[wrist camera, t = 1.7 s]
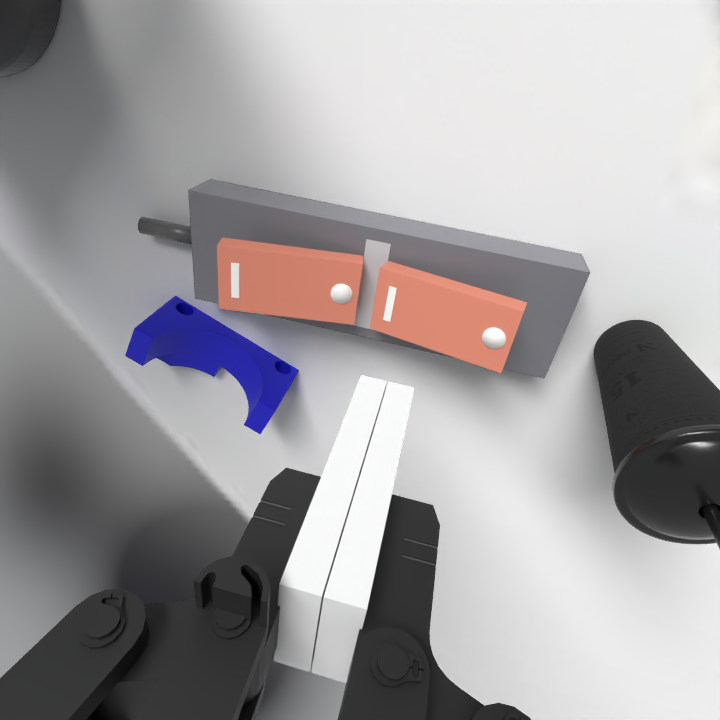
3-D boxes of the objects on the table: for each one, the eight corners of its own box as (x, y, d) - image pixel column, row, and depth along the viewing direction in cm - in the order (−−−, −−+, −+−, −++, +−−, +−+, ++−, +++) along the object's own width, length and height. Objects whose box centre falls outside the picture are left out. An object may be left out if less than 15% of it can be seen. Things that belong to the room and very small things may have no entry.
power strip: (157, 268, 40) (132, 284, 37) (146, 166, 35) (118, 175, 32) (540, 354, 36) (544, 378, 34) (581, 254, 32) (590, 272, 29)
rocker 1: (223, 299, 33) (218, 309, 32) (222, 237, 31) (216, 245, 30) (354, 314, 34) (353, 325, 33) (362, 255, 32) (363, 264, 30)
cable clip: (162, 332, 43) (120, 368, 38) (176, 294, 41) (134, 328, 36) (278, 401, 45) (253, 445, 40) (299, 369, 42) (275, 411, 37)
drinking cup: (719, 325, 33) (961, 608, 16) (646, 407, 37) (778, 695, 20) (612, 283, 33) (745, 522, 16) (553, 370, 37) (608, 628, 20)
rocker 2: (377, 319, 34) (369, 328, 33) (387, 260, 31) (379, 268, 30) (505, 362, 31) (501, 374, 30) (527, 302, 29) (523, 312, 28)
